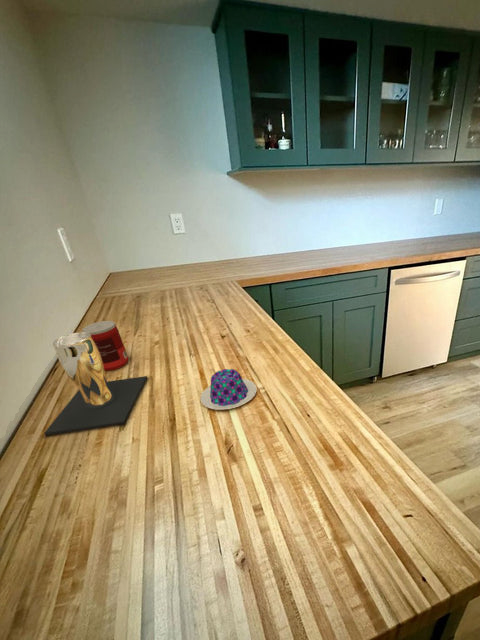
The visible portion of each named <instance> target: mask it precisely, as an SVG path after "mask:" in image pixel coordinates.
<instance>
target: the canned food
mask: <svg viewBox="0 0 480 640" xmlns="http://www.w3.org/2000/svg"><path fill="white" fill-rule="evenodd" d="M81 332H88V333H90V335H91V337H92V339H93V341H94V342H95V344H96V346H97V348H98V350H99V353H100V355H101V358H102V361H103V365H104V370H105V372H106V371H107V372H109V371H114V370H119V369H120V368H123V367H125V366H126V365H127V364H128V362H129V355H128V353H127V349H126V348H125V344H124V342H123V339H122V337H121V334H120V331H119V329H118V327H117V324H116V323H115V321H113V320H102V321H98V322H97V321H96V322H93V323H91V324H87V325H86V326H85V327H83V328H82V331H81Z"/></svg>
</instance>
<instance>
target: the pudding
mask: <svg viewBox="0 0 480 640" xmlns="http://www.w3.org/2000/svg"><path fill="white" fill-rule="evenodd" d="M257 389H258V388H257V385H256V383H254V382H253V381H252V380H250V379H247V378H242V376H241V374H240V373H239V372H238V371H237V370H236V369H233V368H230V369H228V368H224V369H222V370H218V371H216V372H214V374H212V375H211V377H210V385H209V386H207V387H206V388H205V389H204V390H203V391H202V393H201V394H200V402H201V404H202V405H203V406H204V407H206V408H208V409H211V410H217V411H218V410H219V411H220V410H223V411H224V410H229V409H234V408H235V409H236V408H238V407H240V406H243V405H244V404H246V403H249V401H251V400H253V398H254V397H255V395H256V393H257V391H258V390H257Z"/></svg>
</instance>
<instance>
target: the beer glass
mask: <svg viewBox="0 0 480 640" xmlns="http://www.w3.org/2000/svg"><path fill="white" fill-rule="evenodd" d="M52 346H53V348H54V350H55V353H56V356H57V358H58V361H59V362H60V365H61V366H62V369H63V370H64V371H65V373H66V375H67V376H68V378H69V379H70V380H71V381H72V382H73V384H74V385H75V386H76V387H77V389H78V390H80V392H81V394H82V397H83V400H84V404H85V407H86V408H88V409H99V408H102V407H105V406H107V405H109V404H110V403H112V402H113V401H114V400H115V398H116V395H115V393H114V392H113V391H112V389H111V388H110V386H109V384H108V382H107V381H108V380H107V376H106V371H105V370H104V365H103V361H102V358H101V355H100V353H99V350H98V348H97V346H96V344H95V342H94V341H93V339H92V337H91V335H90V333H88V332H83V331H79V332H72V333H69V334H66V335H62V336H60V337H58V338H57V339H55V340H54V341H53V342H52Z"/></svg>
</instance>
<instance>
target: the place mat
mask: <svg viewBox="0 0 480 640" xmlns="http://www.w3.org/2000/svg"><path fill="white" fill-rule="evenodd" d="M147 381H148V376H147V375H145V376H144V375H143V376H138V377H137V376H136V377H129V378H123V379H116V380H107V382H108V384H109V386H110V388H111V389H112V391H113V392H114V393H115V395H116V398H115V400H114V401H113V402H112V403H110V404H109V405H107V406H105V407H102V408H99V409H88V408H86V407H85V404H84V400H83V397H82V394H81V392H80V390H79V389H78V390H77V391H76V393H74V395H73V397H71V398H70V400H69V402H67V404H66V405H65V406H64V408H62V410H61V411H60V413H59V414H58V415H57V417H56V418H55V419H54V420H53V421H52V422H51V424H50V425H49V427H48V428H46V430H45V431H44V435H45V437H49V436H56V435H62V434H69V433H76V432H82V431H83V432H84V431H90V430H97V429H103V428H109V427H111V428H112V427H116V426H122V425H123V426H124V425H126V423H127V421H128V419H129V417H130V415H131V413H132V411H133V409H134V406H135V405H136V404H137V401H138V399H139V397H140V395H141V393H142V391H143V389H144V387H145V385H146V383H147Z"/></svg>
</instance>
